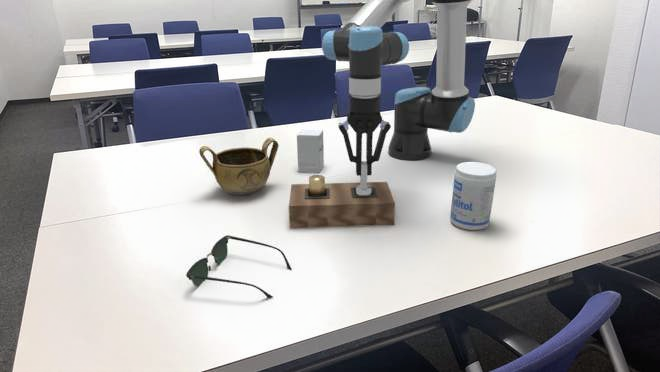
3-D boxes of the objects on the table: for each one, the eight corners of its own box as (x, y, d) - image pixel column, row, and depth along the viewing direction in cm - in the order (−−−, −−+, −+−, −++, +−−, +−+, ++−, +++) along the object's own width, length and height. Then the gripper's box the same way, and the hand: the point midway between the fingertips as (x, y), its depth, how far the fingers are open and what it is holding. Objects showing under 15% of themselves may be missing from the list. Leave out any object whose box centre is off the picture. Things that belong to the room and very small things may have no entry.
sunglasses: (266, 309, 88) (264, 286, 87) (187, 294, 93) (183, 273, 91) (297, 263, 103) (296, 243, 101) (227, 253, 108) (225, 233, 106)
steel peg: (370, 203, 126) (370, 184, 124) (372, 210, 122) (372, 190, 120) (355, 204, 126) (355, 184, 124) (356, 210, 122) (356, 190, 120)
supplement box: (319, 173, 153) (318, 135, 148) (297, 172, 154) (295, 134, 149) (324, 165, 159) (323, 129, 154) (303, 164, 161) (301, 128, 156)
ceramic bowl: (212, 208, 129) (205, 156, 123) (199, 187, 143) (193, 139, 138) (288, 193, 138) (286, 144, 132) (270, 175, 152) (266, 129, 146)
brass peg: (325, 194, 124) (324, 174, 122) (325, 200, 121) (324, 180, 119) (309, 194, 124) (309, 175, 122) (309, 200, 121) (308, 180, 118)
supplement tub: (443, 224, 118) (447, 168, 113) (460, 211, 125) (465, 158, 119) (480, 235, 112) (486, 178, 107) (496, 221, 119) (503, 166, 113)
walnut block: (386, 201, 131) (387, 180, 129) (394, 224, 118) (395, 201, 116) (292, 204, 131) (291, 183, 128) (289, 227, 118) (288, 204, 115)
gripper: (389, 91, 116) (386, 180, 125) (336, 92, 116) (337, 182, 125) (394, 97, 109) (391, 191, 118) (338, 98, 109) (338, 193, 118)
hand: (363, 186), depth 122 cm, fingers closed
